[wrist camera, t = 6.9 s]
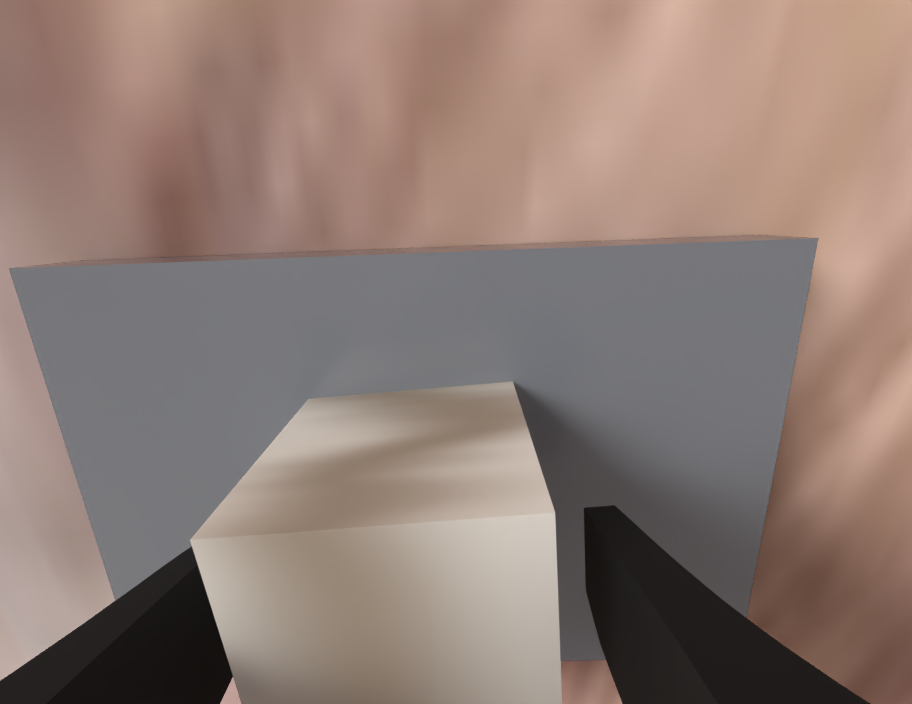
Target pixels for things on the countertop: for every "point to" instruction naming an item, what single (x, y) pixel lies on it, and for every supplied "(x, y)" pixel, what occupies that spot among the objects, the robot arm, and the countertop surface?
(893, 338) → the countertop surface
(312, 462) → the cream cube
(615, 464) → the slate board
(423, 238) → the countertop surface
